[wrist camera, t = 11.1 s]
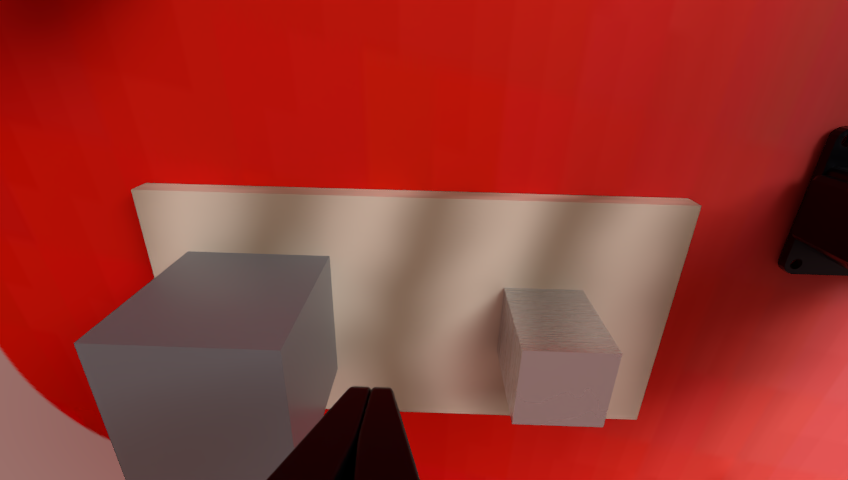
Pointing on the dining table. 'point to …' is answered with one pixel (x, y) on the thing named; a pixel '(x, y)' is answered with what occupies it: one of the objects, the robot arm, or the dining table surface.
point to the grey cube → (555, 358)
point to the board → (444, 273)
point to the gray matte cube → (215, 365)
